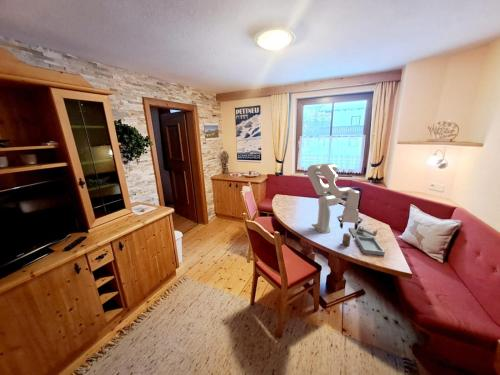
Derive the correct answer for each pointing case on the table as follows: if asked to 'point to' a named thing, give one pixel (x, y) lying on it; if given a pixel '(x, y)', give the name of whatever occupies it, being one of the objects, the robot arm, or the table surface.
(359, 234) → the crank base
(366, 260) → the table surface
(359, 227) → the crank
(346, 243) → the block
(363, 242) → the tray
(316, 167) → the robot arm
